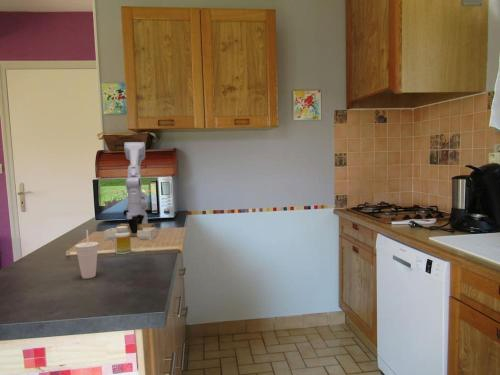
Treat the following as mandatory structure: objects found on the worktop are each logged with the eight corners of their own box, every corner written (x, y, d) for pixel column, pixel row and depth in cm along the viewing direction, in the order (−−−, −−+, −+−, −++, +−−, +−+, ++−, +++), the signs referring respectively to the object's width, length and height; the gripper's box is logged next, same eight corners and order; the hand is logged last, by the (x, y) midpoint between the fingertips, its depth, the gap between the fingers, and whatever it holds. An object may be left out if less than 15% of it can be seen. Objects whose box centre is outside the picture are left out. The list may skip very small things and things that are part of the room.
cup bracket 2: (143, 236, 158) (143, 227, 158) (156, 236, 158) (155, 227, 157) (137, 239, 151) (137, 230, 151) (150, 239, 151) (150, 230, 150)
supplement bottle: (133, 252, 130) (132, 226, 129) (119, 255, 126) (118, 228, 125) (126, 250, 134) (125, 225, 133) (113, 252, 130) (111, 227, 129)
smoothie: (85, 281, 99) (82, 232, 97) (72, 277, 102) (69, 230, 101) (105, 275, 104) (102, 228, 103) (92, 271, 107) (89, 227, 106)
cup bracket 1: (111, 236, 159) (111, 228, 158) (124, 236, 158) (123, 227, 158) (104, 240, 152) (103, 231, 151) (117, 240, 151) (116, 231, 151)
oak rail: (121, 234, 164) (120, 223, 163) (154, 234, 163) (154, 223, 162) (117, 236, 160) (116, 225, 159) (151, 235, 159) (151, 224, 158)
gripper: (132, 201, 167) (133, 229, 168) (119, 205, 153) (121, 235, 154) (146, 201, 167) (147, 228, 168) (135, 204, 153) (136, 235, 154)
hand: (136, 232), depth 161 cm, fingers closed on oak rail, 4 cm apart
